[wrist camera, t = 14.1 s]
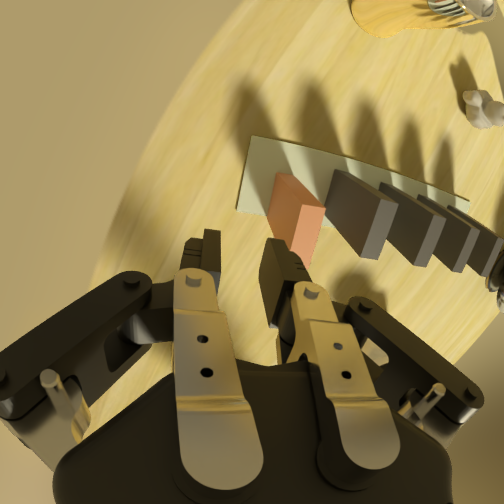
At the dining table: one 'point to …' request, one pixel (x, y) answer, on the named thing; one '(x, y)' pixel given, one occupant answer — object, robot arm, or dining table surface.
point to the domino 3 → (413, 226)
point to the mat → (318, 176)
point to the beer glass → (419, 14)
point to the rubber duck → (483, 109)
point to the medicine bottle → (375, 353)
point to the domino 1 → (295, 216)
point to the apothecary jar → (497, 280)
